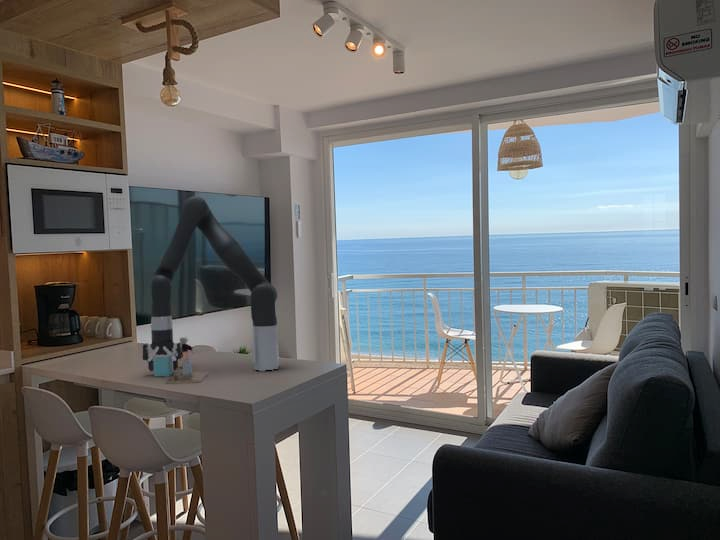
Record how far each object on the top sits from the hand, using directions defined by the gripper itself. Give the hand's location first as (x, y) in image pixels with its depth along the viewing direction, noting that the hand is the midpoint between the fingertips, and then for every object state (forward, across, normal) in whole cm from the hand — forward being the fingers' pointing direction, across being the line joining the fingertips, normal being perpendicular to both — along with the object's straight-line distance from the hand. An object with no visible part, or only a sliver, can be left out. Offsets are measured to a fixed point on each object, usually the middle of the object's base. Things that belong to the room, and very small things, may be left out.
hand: (163, 370), depth 200 cm
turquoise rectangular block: (+2, 0, 0) cm, 2 cm away
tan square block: (+2, -11, +8) cm, 14 cm away
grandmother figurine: (+2, -4, -14) cm, 15 cm away
